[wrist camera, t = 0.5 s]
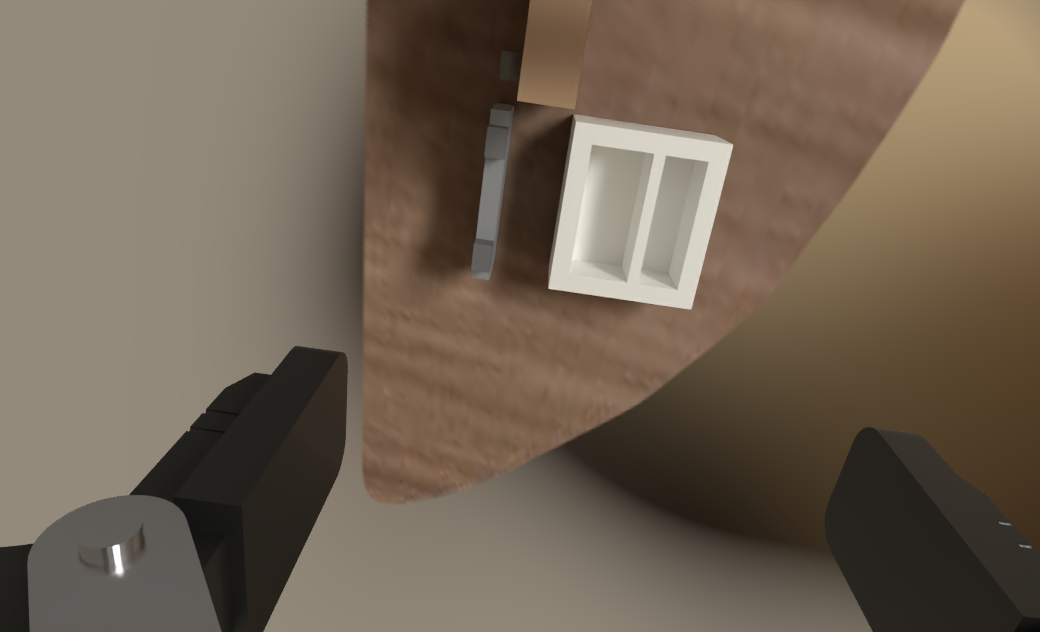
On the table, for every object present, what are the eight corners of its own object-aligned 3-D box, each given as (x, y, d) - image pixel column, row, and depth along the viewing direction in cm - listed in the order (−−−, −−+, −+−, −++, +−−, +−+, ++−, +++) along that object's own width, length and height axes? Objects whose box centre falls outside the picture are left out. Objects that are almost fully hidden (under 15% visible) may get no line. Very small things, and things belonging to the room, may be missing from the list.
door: (528, -81, 33) (519, -131, 24) (594, -71, 33) (611, -117, 24) (507, 85, 36) (492, 97, 27) (568, 94, 36) (574, 109, 27)
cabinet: (497, 102, 37) (489, 110, 32) (715, 135, 37) (738, 147, 32) (478, 256, 40) (469, 283, 35) (678, 285, 40) (694, 316, 36)
